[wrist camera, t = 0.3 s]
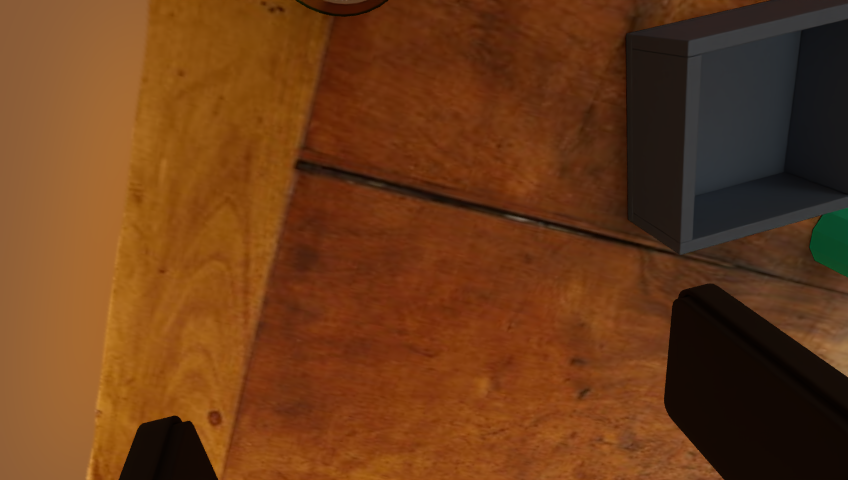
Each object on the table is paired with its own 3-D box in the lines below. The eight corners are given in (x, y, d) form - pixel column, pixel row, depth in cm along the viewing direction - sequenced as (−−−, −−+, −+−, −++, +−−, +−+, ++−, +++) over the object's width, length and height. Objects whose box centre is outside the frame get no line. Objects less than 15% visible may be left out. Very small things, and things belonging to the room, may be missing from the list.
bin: (625, 33, 31) (688, 40, 26) (809, -9, 32) (903, -10, 27) (627, 219, 36) (680, 255, 31) (784, 177, 37) (859, 204, 32)
